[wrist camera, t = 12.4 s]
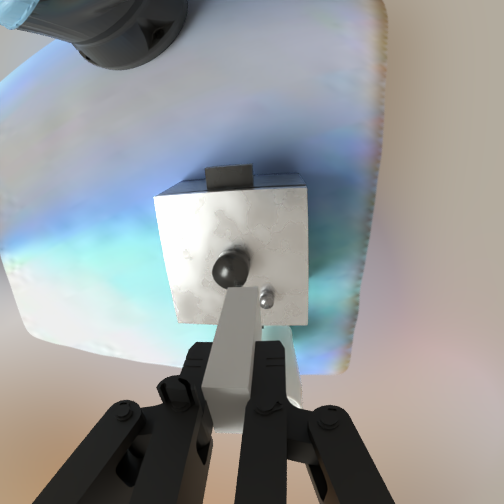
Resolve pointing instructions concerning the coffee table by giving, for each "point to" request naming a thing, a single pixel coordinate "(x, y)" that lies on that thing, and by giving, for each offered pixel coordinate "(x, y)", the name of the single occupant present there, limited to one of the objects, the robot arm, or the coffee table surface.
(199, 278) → the lid
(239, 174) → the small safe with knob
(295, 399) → the white hollow cylinder
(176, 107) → the coffee table surface
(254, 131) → the coffee table surface
